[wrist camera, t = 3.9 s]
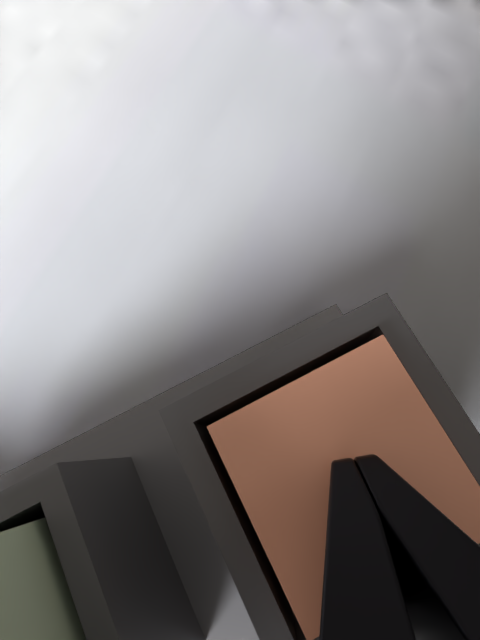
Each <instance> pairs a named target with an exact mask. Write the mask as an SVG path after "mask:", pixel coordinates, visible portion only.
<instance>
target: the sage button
mask: <svg viewBox="0 0 480 640" xmlns="http://www.w3.org/2000/svg"><path fill="white" fill-rule="evenodd" d="M0 640H86V637H85V634H84V631H83V628H82V625H81V622H80V619H79V616H78V613H77V610H76V607H75V604H74V601H73V598H72V595H71V592H70V589H69V586H68V583H67V580H66V577H65V574H64V571H63V568H62V565H61V562H60V559H59V556H58V553H57V550H56V547H55V544H54V541H53V538H52V535H51V532H50V529H49V526H48V523H47V520H46V518H43V519H39V520H36V521H33V522H30V523H27V524H24V525H21V526H18V527H15V528H12V529H8V530H5V531H2V532H0Z"/></svg>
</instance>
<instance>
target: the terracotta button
mask: <svg viewBox="0 0 480 640" xmlns="http://www.w3.org/2000/svg"><path fill="white" fill-rule="evenodd" d="M207 429H208V431H209V433H210V435H211V437H212V440H213V442H214V444H215V446H216V448H217V450H218V452H219V454H220V457H221V459H222V461H223V463H224V465H225V467H226V469H227V471H228V474H229V476H230V478H231V480H232V482H233V484H234V486H235V488H236V491H237V493H238V495H239V497H240V499H241V501H242V503H243V506H244V508H245V510H246V512H247V514H248V516H249V518H250V520H251V523H252V525H253V527H254V529H255V531H256V533H257V535H258V537H259V540H260V542H261V544H262V546H263V548H264V550H265V552H266V555H267V557H268V559H269V561H270V563H271V565H272V567H273V569H274V572H275V574H276V576H277V578H278V580H279V582H280V584H281V586H282V589H283V591H284V593H285V595H286V597H287V599H288V601H289V604H290V606H291V608H292V610H293V612H294V614H295V616H296V618H297V621H298V623H299V625H300V627H301V629H302V631H303V633H304V635H305V638H306V640H313V639H315V638H317V637H318V636H319V634H320V619H321V605H322V590H323V575H324V560H325V546H326V531H327V516H328V501H329V487H330V472H331V463H332V461H334V460H338V459H345V458H352V459H353V460H354V458H355V457H357V456H363V455H369V454H374V455H377V456H378V457H379V458H381V459H382V460H383V461H384V462H385V463H386V464H387V465H388V466H390V467H391V468H392V469H393V470H394V471H395V472H396V473H398V474H399V475H400V476H401V477H402V478H403V479H404V480H406V481H407V482H408V483H409V484H410V485H411V486H412V487H413V488H415V489H416V490H417V491H418V492H419V493H420V494H421V495H423V496H424V497H425V498H426V499H427V500H428V501H429V502H431V503H432V504H433V505H434V506H435V507H436V508H437V509H438V510H440V511H441V512H442V513H443V514H444V515H445V516H446V517H448V518H449V519H450V520H451V521H452V522H453V523H454V524H455V525H457V526H458V527H459V528H460V529H461V530H462V531H463V532H465V533H466V534H467V535H468V536H469V537H470V538H471V539H473V540H474V541H475V542H476V543H477V544H479V543H480V486H479V484H478V483H477V481H476V480H475V478H474V477H473V475H472V473H471V472H470V470H469V469H468V467H467V466H466V464H465V462H464V461H463V459H462V458H461V456H460V455H459V453H458V451H457V450H456V448H455V447H454V445H453V443H452V442H451V440H450V439H449V437H448V436H447V434H446V432H445V431H444V429H443V428H442V426H441V425H440V423H439V421H438V420H437V418H436V417H435V415H434V414H433V412H432V410H431V409H430V407H429V406H428V404H427V403H426V401H425V399H424V398H423V396H422V395H421V393H420V392H419V390H418V388H417V387H416V385H415V384H414V382H413V380H412V379H411V377H410V376H409V374H408V373H407V371H406V369H405V368H404V366H403V365H402V363H401V362H400V360H399V358H398V357H397V355H396V354H395V352H394V351H393V349H392V347H391V346H390V344H389V343H388V341H387V340H386V338H385V336H384V335H381V336H379V337H377V338H375V339H373V340H371V341H369V342H367V343H365V344H364V345H362V346H360V347H358V348H356V349H354V350H352V351H350V352H348V353H346V354H344V355H343V356H341V357H339V358H337V359H335V360H333V361H331V362H329V363H327V364H325V365H323V366H321V367H320V368H318V369H316V370H314V371H312V372H310V373H308V374H306V375H304V376H302V377H300V378H298V379H297V380H295V381H293V382H291V383H289V384H287V385H285V386H283V387H281V388H279V389H277V390H276V391H274V392H272V393H270V394H268V395H266V396H264V397H262V398H260V399H258V400H256V401H254V402H253V403H251V404H249V405H247V406H245V407H243V408H241V409H239V410H237V411H235V412H233V413H232V414H230V415H228V416H226V417H224V418H222V419H220V420H218V421H216V422H214V423H212V424H210V425H209V426H207Z"/></svg>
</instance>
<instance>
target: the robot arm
mask: <svg viewBox="0 0 480 640" xmlns="http://www.w3.org/2000/svg"><path fill="white" fill-rule="evenodd" d="M319 640H480V546H479V545H478V544H477V543H476V542H475V541H474V540H473V539H471V538H470V537H469V536H468V535H467V534H466V533H465V532H463V531H462V530H461V529H460V528H459V527H458V526H457V525H455V524H454V523H453V522H452V521H451V520H450V519H449V518H448V517H446V516H445V515H444V514H443V513H442V512H441V511H440V510H438V509H437V508H436V507H435V506H434V505H433V504H432V503H431V502H429V501H428V500H427V499H426V498H425V497H424V496H423V495H421V494H420V493H419V492H418V491H417V490H416V489H415V488H413V487H412V486H411V485H410V484H409V483H408V482H407V481H406V480H404V479H403V478H402V477H401V476H400V475H399V474H398V473H396V472H395V471H394V470H393V469H392V468H391V467H390V466H388V465H387V464H386V463H385V462H384V461H383V460H382V459H381V458H379V457H378V456H377V455H374V454H369V455H363V456H357V457H355V458H354V460H353V459H352V458H345V459H338V460H334V461H332V463H331V472H330V487H329V501H328V516H327V531H326V546H325V560H324V575H323V590H322V605H321V619H320V634H319Z"/></svg>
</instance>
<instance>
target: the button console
mask: <svg viewBox="0 0 480 640" xmlns="http://www.w3.org/2000/svg"><path fill="white" fill-rule="evenodd" d="M381 335H384V336H385V338H386V340H387V341H388V343H389V344H390V346H391V347H392V349H393V351H394V352H395V354H396V355H397V357H398V358H399V360H400V362H401V363H402V365H403V366H404V368H405V369H406V371H407V373H408V374H409V376H410V377H411V379H412V380H413V382H414V384H415V385H416V387H417V388H418V390H419V392H420V393H421V395H422V396H423V398H424V399H425V401H426V403H427V404H428V406H429V407H430V409H431V410H432V412H433V414H434V415H435V417H436V418H437V420H438V421H439V423H440V425H441V426H442V428H443V429H444V431H445V432H446V434H447V436H448V437H449V439H450V440H451V442H452V443H453V445H454V447H455V448H456V450H457V451H458V453H459V455H460V456H461V458H462V459H463V461H464V462H465V464H466V466H467V467H468V469H469V470H470V472H471V473H472V475H473V477H474V478H475V480H476V481H477V483H478V484H479V486H480V434H479V433H478V431H477V430H476V428H475V426H474V425H473V423H472V422H471V420H470V419H469V417H468V416H467V414H466V413H465V411H464V410H463V408H462V407H461V405H460V404H459V402H458V401H457V399H456V398H455V396H454V395H453V393H452V392H451V390H450V388H449V387H448V385H447V384H446V382H445V381H444V379H443V378H442V376H441V375H440V373H439V372H438V370H437V369H436V367H435V366H434V364H433V363H432V361H431V360H430V358H429V357H428V355H427V354H426V352H425V351H424V349H423V347H422V346H421V344H420V343H419V341H418V340H417V338H416V337H415V335H414V334H413V332H412V331H411V329H410V328H409V326H408V325H407V323H406V322H405V320H404V319H403V317H402V316H401V314H400V313H399V311H398V309H397V308H396V306H395V305H394V303H393V302H392V300H391V299H390V297H389V296H388V294H387V293H386V294H384V295H382V296H380V297H378V298H376V299H374V300H372V301H370V302H368V303H366V304H364V305H362V306H360V307H358V308H356V309H354V310H353V311H351V312H349V313H347V314H345V315H343V314H342V313H341V311H340V310H339V308H338V306H337V305H334V306H332V307H330V308H328V309H326V310H324V311H322V312H320V313H318V314H316V315H314V316H312V317H310V318H308V319H306V320H304V321H302V322H300V323H298V324H296V325H294V326H293V327H291V328H289V329H287V330H285V331H283V332H281V333H279V334H277V335H275V336H273V337H271V338H269V339H267V340H265V341H263V342H261V343H259V344H257V345H255V346H253V347H251V348H249V349H248V350H246V351H244V352H242V353H240V354H238V355H236V356H234V357H232V358H230V359H228V360H226V361H224V362H222V363H220V364H218V365H216V366H214V367H212V368H210V369H208V370H206V371H204V372H202V373H201V374H199V375H197V376H195V377H193V378H191V379H189V380H187V381H185V382H183V383H181V384H179V385H177V386H175V387H173V388H171V389H169V390H167V391H165V392H163V393H161V394H159V395H157V396H156V397H154V398H152V399H150V400H148V401H146V402H144V403H142V404H140V405H138V406H136V407H134V408H132V409H130V410H128V411H126V412H124V413H122V414H120V415H118V416H116V417H114V418H112V419H111V420H109V421H107V422H105V423H103V424H101V425H99V426H97V427H95V428H93V429H91V430H89V431H87V432H85V433H83V434H81V435H79V436H77V437H75V438H73V439H71V440H69V441H67V442H66V443H64V444H62V445H60V446H58V447H56V448H54V449H52V450H50V451H48V452H46V453H44V454H42V455H40V456H38V457H36V458H34V459H32V460H30V461H28V462H26V463H24V464H22V465H21V466H19V467H17V468H15V469H13V470H11V471H9V472H7V473H5V474H3V475H1V476H0V532H2V531H5V530H8V529H12V528H15V527H18V526H21V525H24V524H27V523H30V522H33V521H36V520H39V519H43V518H46V520H47V523H48V526H49V529H50V532H51V535H52V538H53V541H54V544H55V547H56V550H57V553H58V556H59V559H60V562H61V565H62V568H63V571H64V574H65V577H66V580H67V583H68V586H69V589H70V592H71V595H72V598H73V601H74V604H75V607H76V610H77V613H78V616H79V619H80V622H81V625H82V628H83V631H84V634H85V637H86V640H306V638H305V635H304V633H303V631H302V629H301V627H300V625H299V623H298V621H297V618H296V616H295V614H294V612H293V610H292V608H291V606H290V604H289V601H288V599H287V597H286V595H285V593H284V591H283V589H282V586H281V584H280V582H279V580H278V578H277V576H276V574H275V572H274V569H273V567H272V565H271V563H270V561H269V559H268V557H267V555H266V552H265V550H264V548H263V546H262V544H261V542H260V540H259V537H258V535H257V533H256V531H255V529H254V527H253V525H252V523H251V520H250V518H249V516H248V514H247V512H246V510H245V508H244V506H243V503H242V501H241V499H240V497H239V495H238V493H237V491H236V488H235V486H234V484H233V482H232V480H231V478H230V476H229V474H228V471H227V469H226V467H225V465H224V463H223V461H222V459H221V457H220V454H219V452H218V450H217V448H216V446H215V444H214V442H213V440H212V437H211V435H210V433H209V431H208V429H207V426H209V425H210V424H212V423H214V422H216V421H218V420H220V419H222V418H224V417H226V416H228V415H230V414H232V413H233V412H235V411H237V410H239V409H241V408H243V407H245V406H247V405H249V404H251V403H253V402H254V401H256V400H258V399H260V398H262V397H264V396H266V395H268V394H270V393H272V392H274V391H276V390H277V389H279V388H281V387H283V386H285V385H287V384H289V383H291V382H293V381H295V380H297V379H298V378H300V377H302V376H304V375H306V374H308V373H310V372H312V371H314V370H316V369H318V368H320V367H321V366H323V365H325V364H327V363H329V362H331V361H333V360H335V359H337V358H339V357H341V356H343V355H344V354H346V353H348V352H350V351H352V350H354V349H356V348H358V347H360V346H362V345H364V344H365V343H367V342H369V341H371V340H373V339H375V338H377V337H379V336H381ZM478 545H479V546H480V543H479V544H478ZM313 640H319V636H318V637H317V638H315V639H313Z"/></svg>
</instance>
